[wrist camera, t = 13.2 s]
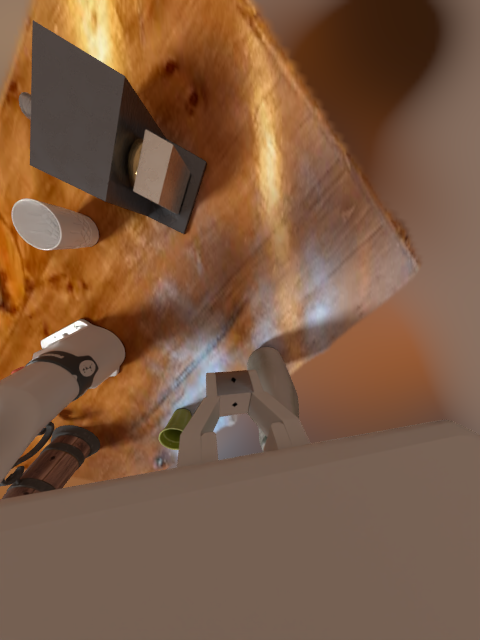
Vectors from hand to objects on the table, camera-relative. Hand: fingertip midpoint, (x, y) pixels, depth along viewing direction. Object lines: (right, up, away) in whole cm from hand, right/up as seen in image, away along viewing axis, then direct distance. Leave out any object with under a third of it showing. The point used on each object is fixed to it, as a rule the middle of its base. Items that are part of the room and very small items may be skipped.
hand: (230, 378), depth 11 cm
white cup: (-34, +24, +29) cm, 51 cm away
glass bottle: (+8, -7, +42) cm, 43 cm away
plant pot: (-19, -29, +51) cm, 61 cm away
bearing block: (-18, +33, +25) cm, 45 cm away
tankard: (-61, -39, +54) cm, 90 cm away
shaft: (-21, +33, +23) cm, 46 cm away
